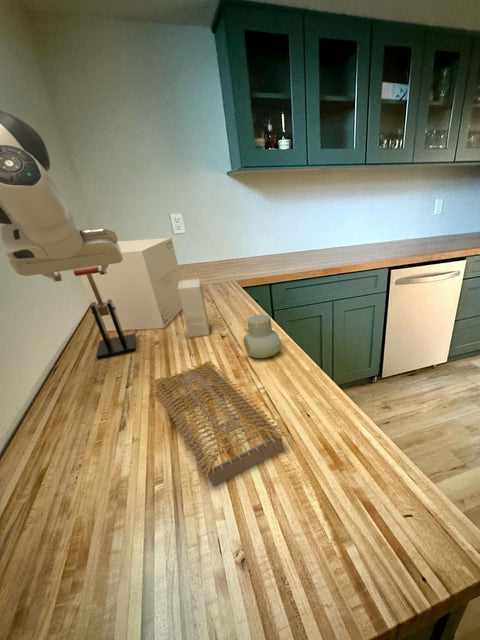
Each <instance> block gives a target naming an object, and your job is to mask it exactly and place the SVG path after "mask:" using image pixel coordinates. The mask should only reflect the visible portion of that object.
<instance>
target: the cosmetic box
mask: <svg viewBox="0 0 480 640" xmlns="http://www.w3.org/2000/svg"><path fill="white" fill-rule="evenodd" d="M178 291H179V296H180V300H181V304H182V308H183V309H182V313H183V317H184V321H185V324H186V330H187V332H188V338H195V337H196V338H197V337H201V336H209V335H210V323H209V317H208V311H207V308H206V301H205V298H204V293H203V287H202V284H201V279H200V278H193V279H182V281H179V284H178Z"/></svg>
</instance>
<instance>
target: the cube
mask: <svg viewBox="0 0 480 640" xmlns="http://www.w3.org/2000/svg"><path fill="white" fill-rule="evenodd" d="M117 243H118V245H119V247H120V249H121V252H122V256H123V260H122V261H121V262H120V263H115V264H108V268H107V269H106V270H107V274H103V275H100V273H94V274H92V276H93V279H94V281H95V284H96V286H97V288H98V291H99V293H100V296H101V298H102V301H103V303H104V302H106V304H107V300H110V299H111V300H112V303H113V305H115V308H116V310H115V311H116V314H117V317H118V319H119V322H120V325H121V328H122V330H123V331H135V330H154V329H164V328H166V327H167V326H168V325H169V324H170V323H171V321H173V319H174V318H175V317H176V316H177V315H178V314H179V313H181V311H183V308H182V304H181V300H180V296H179V291H178V284H179V281H183V279H182V275H181V272H180V267H179V262H178V259H177V255H176V252H175V247H174V243H173V238H172V237H161V238H147V239H133V240H121V241H119V240H118V241H117ZM94 267H97V266H94ZM94 267H87V268H94ZM87 268H80V269H87ZM77 270H79V269H77ZM80 279H81V282H82V284H83V287H84V289H85V291H86V294H87V297H88V299H89V302H90V305H91V304H92V302H96V304H98V301H97V299H96V297H95V294H94V292H93V289H92V287H91V285H90V282H89V280H88V278H87V275H80ZM101 317H102V319H103V322H104V325H105V327H106V330H107V332H115V331H116V328H115V326H114V323H113V320H112V317H111V315H110V312H109V315H105V316H101ZM116 332H117V331H116Z"/></svg>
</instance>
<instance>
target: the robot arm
mask: <svg viewBox="0 0 480 640" xmlns="http://www.w3.org/2000/svg"><path fill="white" fill-rule="evenodd" d="M49 155H50V154H49V152H48V148H47V146H46V143H45V141H44V140H43V138H42V137H41V136H40V134H39V133H38V132H37V131H36V130H35V129H34V128H33V127H32V126H31V125H29V124H28V123H27V122H25V121H24V120H23V119H21V118H19V117H18V116H15V115H13V114H10V113H9V112H6V111H3V110H0V224H1V225H2V226H1V227H0V238H1V243H2V248H3V251H4V253H5V256H7V258H8V259H7V260H8V263H9V264H10V266H11V268H12V269H13V271H15V273H16V274H18V275H19V276H24V277H31V276H37V275H42V276H43V277H46V278H49V279H51V280H52V281H53V282H54V283H56V282H62V281H63V278H62V275H61V273H60V272H64V271H74V270H78V269H80V268H87V267H94V266H97V267H98V271H99V273H100V275H103V274H107V270H106V269H107V268H108V264H115V263H120V262H121V261H122V260H123V256H122V252H121V249H120V247H119V245H118V243H117V242H118V241H119V240H118V236H117V234H116V233H115V231H114V230H109V229H106V228H102V227H101V228H97V229H84V230H81V229H80V227H79V225H78V224H77V222H76V220H75V218H74V216H73V214H72V213H71V212H70V210H69V209H67V205H66V201H65V199H64V196H63V195H62V193H61V191H60V190H59V188H58V186H57V184H56V183H55V181H54V180H53V178H52V177H51V176H50V174H49V173H48V171H49V170H50V168H51V161H50V160H51V159H50V156H49Z"/></svg>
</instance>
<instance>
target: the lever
mask: <svg viewBox="0 0 480 640" xmlns="http://www.w3.org/2000/svg"><path fill="white" fill-rule="evenodd" d="M94 273H99V271H98V267H94V268H87V269H79V270H78V269H73V274H74V277H79V276H80V275H87V278H88V280H89V282H90V285H91V287H92V289H93V292H94V294H95V297H96V299H97V301H98V304H97V308H98V311H99V313H100V315H101V316H105V315H109V309H108V307H107V304H106V302H104V303H103V301H102V298H101V296H100V293H99V291H98V288H97V286H96V284H95V281H94V279H93V276H92V274H94Z"/></svg>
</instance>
